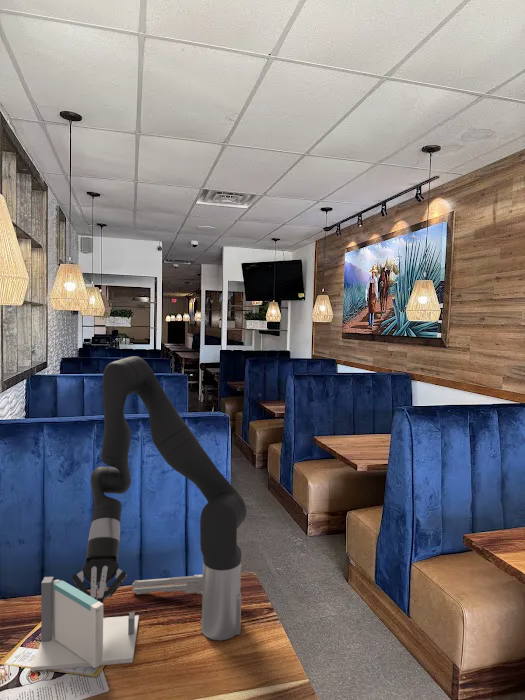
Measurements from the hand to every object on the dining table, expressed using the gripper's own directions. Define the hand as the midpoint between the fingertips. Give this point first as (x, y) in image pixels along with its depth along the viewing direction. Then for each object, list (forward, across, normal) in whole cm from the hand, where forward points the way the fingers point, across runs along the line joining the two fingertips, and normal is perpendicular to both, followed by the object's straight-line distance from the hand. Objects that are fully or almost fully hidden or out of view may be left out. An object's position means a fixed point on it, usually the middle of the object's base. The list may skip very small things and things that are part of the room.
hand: (95, 617), depth 108 cm
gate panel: (+6, -4, +2) cm, 7 cm away
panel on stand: (+4, -1, +5) cm, 7 cm away
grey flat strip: (-6, +21, +16) cm, 27 cm away
